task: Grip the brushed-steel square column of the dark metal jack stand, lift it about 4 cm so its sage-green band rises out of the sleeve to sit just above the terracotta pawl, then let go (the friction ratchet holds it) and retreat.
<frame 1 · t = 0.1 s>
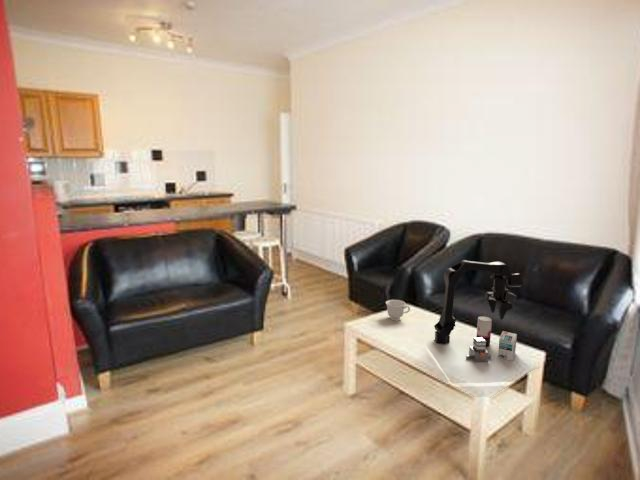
hand: (497, 315, 204), 15 cm above the table, fingers open, 9 cm apart
column: (479, 349, 186), point 6 cm above the table, slide at 0.0 cm
teacup: (397, 319, 238), on the table
beverage can: (482, 346, 202), on the table
light bulb box: (506, 357, 191), on the table
stand base: (478, 361, 187), on the table
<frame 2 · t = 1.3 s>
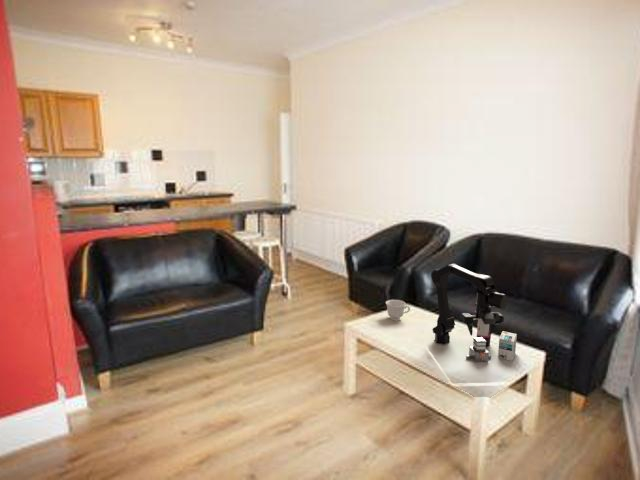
hand: (480, 334, 185), 13 cm above the table, fingers open, 9 cm apart
nothing on the table moved.
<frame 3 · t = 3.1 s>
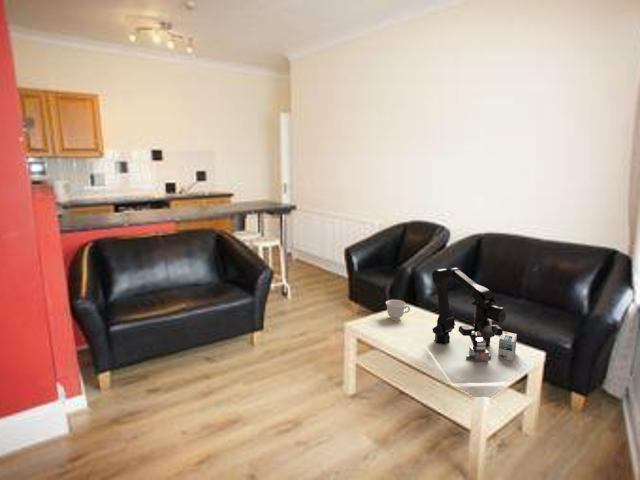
hand: (479, 347, 186), 7 cm above the table, fingers closed on column, 4 cm apart
column: (479, 349, 186), point 6 cm above the table, slide at 0.0 cm, touching gripper
everything else where it was.
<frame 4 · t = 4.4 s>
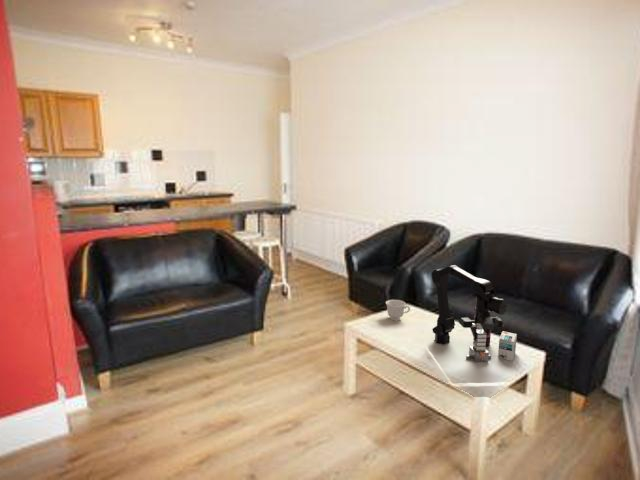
hand: (479, 339, 185), 11 cm above the table, fingers closed on column, 4 cm apart
column: (479, 341, 185), point 10 cm above the table, slide at 3.9 cm, touching gripper
everything else where it was.
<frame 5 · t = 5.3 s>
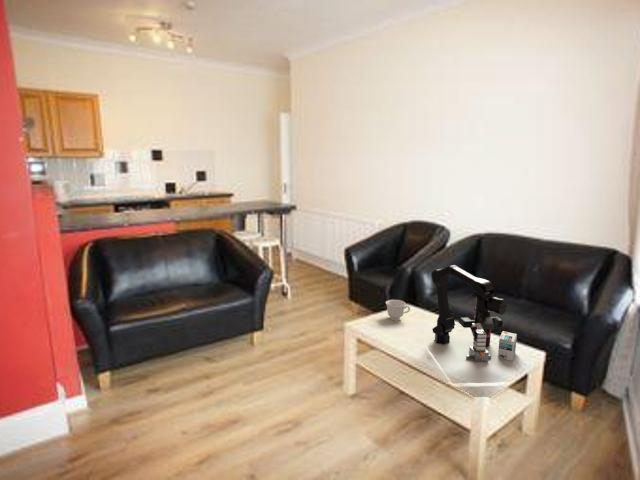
hand: (479, 339, 185), 11 cm above the table, fingers closed on column, 4 cm apart
column: (479, 341, 185), point 10 cm above the table, slide at 3.9 cm, touching gripper
everything else where it was.
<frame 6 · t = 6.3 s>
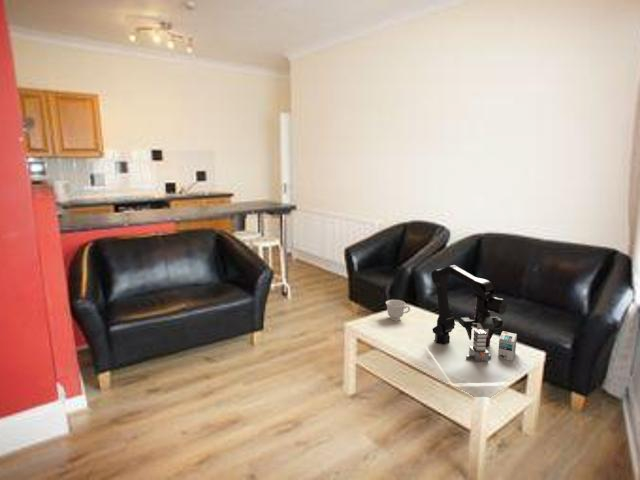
hand: (479, 339, 185), 11 cm above the table, fingers open, 9 cm apart
column: (479, 341, 185), point 10 cm above the table, slide at 3.9 cm
everything else where it was.
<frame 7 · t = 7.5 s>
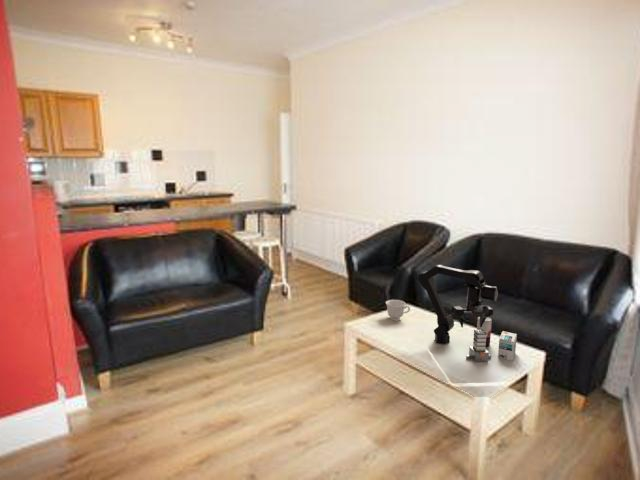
hand: (471, 327, 194), 13 cm above the table, fingers open, 9 cm apart
nothing on the table moved.
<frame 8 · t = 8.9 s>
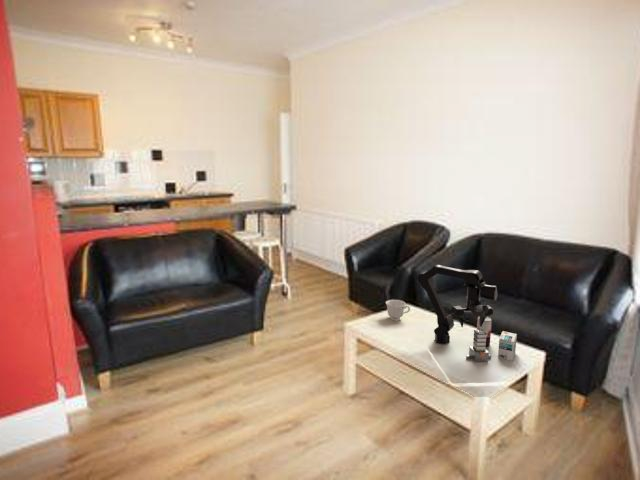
hand: (471, 326, 195), 13 cm above the table, fingers open, 9 cm apart
nothing on the table moved.
at the end: column slide at 3.9 cm; the gripper is holding nothing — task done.
